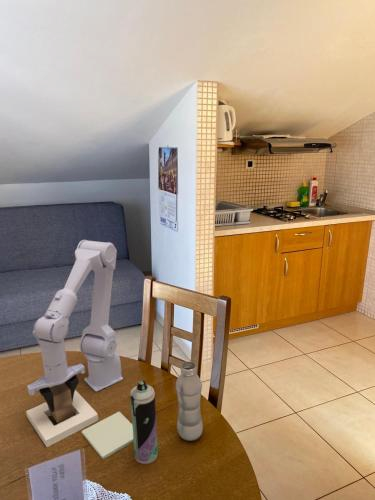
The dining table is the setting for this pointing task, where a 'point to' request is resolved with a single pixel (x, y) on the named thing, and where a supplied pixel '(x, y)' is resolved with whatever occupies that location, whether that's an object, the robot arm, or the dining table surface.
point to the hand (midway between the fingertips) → (60, 405)
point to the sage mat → (109, 435)
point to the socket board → (65, 428)
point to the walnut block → (61, 402)
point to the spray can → (144, 423)
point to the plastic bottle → (189, 402)
